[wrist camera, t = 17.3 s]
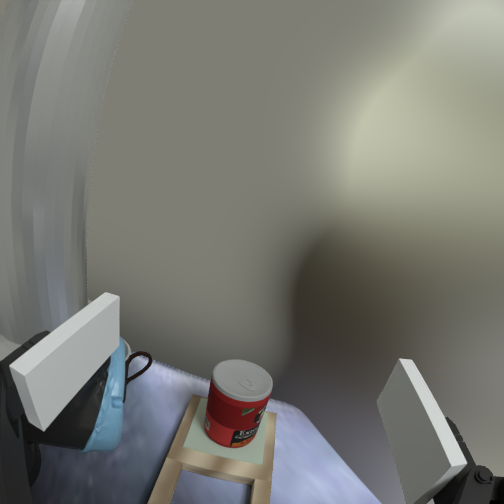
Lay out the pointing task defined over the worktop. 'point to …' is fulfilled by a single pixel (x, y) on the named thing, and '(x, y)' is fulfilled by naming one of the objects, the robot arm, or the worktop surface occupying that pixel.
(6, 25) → the robot arm
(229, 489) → the worktop surface
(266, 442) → the board
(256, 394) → the canned food
